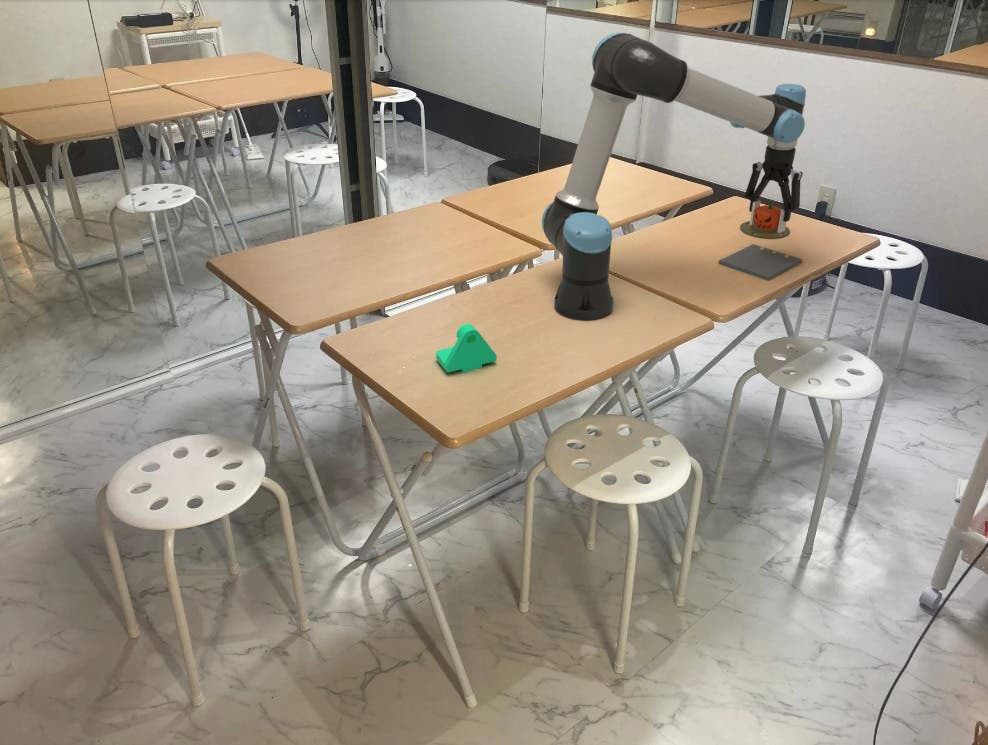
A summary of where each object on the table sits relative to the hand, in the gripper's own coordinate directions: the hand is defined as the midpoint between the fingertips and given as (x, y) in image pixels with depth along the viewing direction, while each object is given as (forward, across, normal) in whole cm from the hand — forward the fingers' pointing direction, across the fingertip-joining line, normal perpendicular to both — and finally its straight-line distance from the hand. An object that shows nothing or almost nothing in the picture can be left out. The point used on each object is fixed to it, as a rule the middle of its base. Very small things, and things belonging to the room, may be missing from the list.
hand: (766, 227), depth 223 cm
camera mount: (+11, +16, +98) cm, 100 cm away
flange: (+11, +13, -24) cm, 30 cm away
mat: (+11, 0, 0) cm, 11 cm away
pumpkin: (+1, 0, 0) cm, 1 cm away
